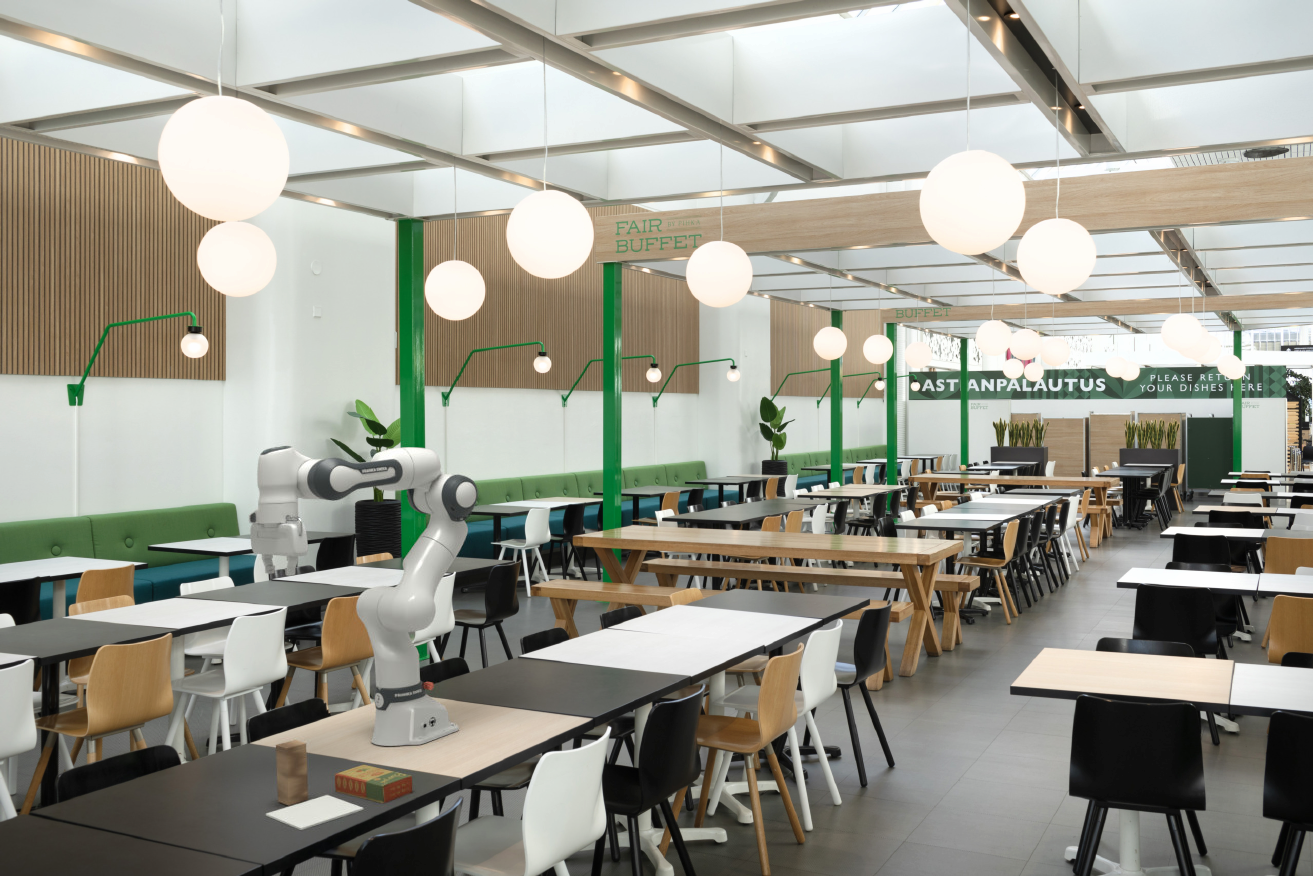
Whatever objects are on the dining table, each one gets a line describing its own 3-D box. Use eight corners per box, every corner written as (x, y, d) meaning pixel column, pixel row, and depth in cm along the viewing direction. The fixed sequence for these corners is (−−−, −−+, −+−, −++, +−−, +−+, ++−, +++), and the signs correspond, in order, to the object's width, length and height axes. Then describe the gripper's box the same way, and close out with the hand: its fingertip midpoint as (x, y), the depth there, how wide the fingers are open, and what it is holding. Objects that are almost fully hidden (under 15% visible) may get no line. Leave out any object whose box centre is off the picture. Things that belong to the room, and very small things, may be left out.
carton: (365, 782, 233) (364, 763, 234) (413, 793, 224) (413, 774, 224) (334, 793, 227) (333, 773, 227) (383, 805, 217) (382, 784, 218)
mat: (327, 796, 223) (327, 795, 223) (363, 810, 214) (363, 808, 214) (265, 815, 213) (265, 813, 213) (301, 830, 203) (301, 828, 203)
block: (297, 796, 224) (295, 740, 224) (308, 800, 221) (306, 743, 221) (277, 802, 221) (275, 745, 221) (288, 806, 218) (286, 748, 218)
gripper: (313, 515, 239) (315, 575, 239) (269, 514, 252) (271, 570, 252) (288, 517, 234) (290, 578, 234) (244, 515, 248) (246, 573, 247)
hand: (280, 574), depth 243 cm, fingers open, 8 cm apart
